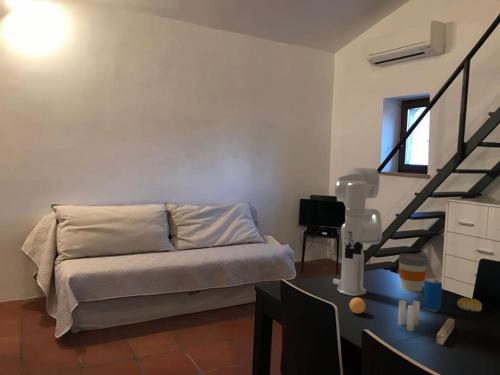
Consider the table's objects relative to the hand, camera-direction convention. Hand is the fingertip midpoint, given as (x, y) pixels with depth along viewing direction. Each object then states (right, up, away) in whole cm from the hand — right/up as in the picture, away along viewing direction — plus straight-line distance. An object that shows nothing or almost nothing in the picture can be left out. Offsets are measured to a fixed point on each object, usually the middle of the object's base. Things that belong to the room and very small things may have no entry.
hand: (353, 256), depth 172 cm
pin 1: (+16, -23, -19) cm, 34 cm away
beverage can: (+32, -22, +2) cm, 39 cm away
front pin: (+14, -23, -14) cm, 30 cm away
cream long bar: (+27, -24, -23) cm, 42 cm away
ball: (+1, -18, -4) cm, 19 cm away
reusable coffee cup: (+33, -20, +28) cm, 48 cm away
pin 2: (+19, -23, -14) cm, 33 cm away
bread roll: (+49, -22, +4) cm, 54 cm away
